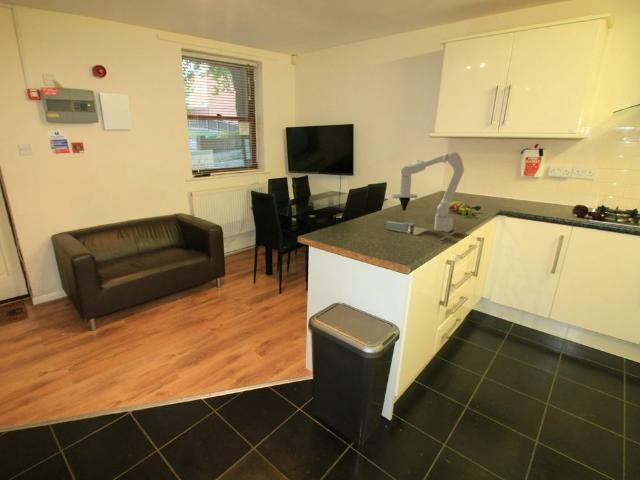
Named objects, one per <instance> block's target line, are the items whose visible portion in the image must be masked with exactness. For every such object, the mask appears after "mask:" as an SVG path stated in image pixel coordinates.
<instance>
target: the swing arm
mask: <svg viewBox="0 0 640 480" xmlns="http://www.w3.org/2000/svg"><path fill="white" fill-rule="evenodd" d="M408 226H414V227H417V223H415V222H397V221H392V220H391V221H389V220H387V221H386V226H385V228H386V229H387V230H389V229H394V230H400V231H408ZM394 230H393V231H394Z"/></svg>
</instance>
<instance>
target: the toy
mask: <svg viewBox="0 0 640 480" xmlns="http://www.w3.org/2000/svg"><path fill="white" fill-rule="evenodd" d="M481 207H482V206H480V205H475V206H470V205H468V204H467V203H466V202H462V201H457V200H456V201H451V203H450V206H449V211H452V212H456V213H458V214H460V215H461V216H460V217H462V218H463V217H464V218H465V217H468V218H471V217H472V218H473V210H475V211H477V212H479V211H480V210H481V209H482V208H481ZM467 213H468V214H467Z"/></svg>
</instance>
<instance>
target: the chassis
mask: <svg viewBox="0 0 640 480" xmlns="http://www.w3.org/2000/svg"><path fill="white" fill-rule="evenodd" d="M408 229H410V232H409V231H400V230H394V229H388V230H391V231H396V232H400V233H405V234H409V235H414V236H415V235H416V236H417V235H420V234H421V233H424V232H426V231H428V230H429V229H428V228H422V227H418V226H409V225H408Z"/></svg>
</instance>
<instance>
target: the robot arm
mask: <svg viewBox="0 0 640 480" xmlns="http://www.w3.org/2000/svg"><path fill="white" fill-rule="evenodd" d="M447 162H448V164H449V165H450V166H451V167H452V169H453V174H452V175H451V179H449V183H448V186H447V188H446V190H445V193H444V195H443V197H442V200H441V201H440V203H439V204H438V205H436V213H435V217H434V226H433V229H434V230H435V231H439V232H445V233H446V232H447V233H449V232H451V231H453V225H454V224H453V223H454V218H453V217H452V216H450V215H449V212H450V209H449V206H450V203H451V202H452V200H453V198H454V195H455V192H456V190H457V188H458V186H459V183H460V181H461V178H462V176H463V174H464V172H465V167H464V164H463V159H462V157H461V156H460V154H459V153H458V151H451V152H447V153H442V154H440V155H437V156H435V157H433V158H430V159H428V160H427V159H426V160H425V161H424V160H420V159H418V160H416V162H414V163H409V164H408V165H405V166H403V167H402V168H401V171H400V173H401V177H400V178H401V179H400V189H399V194H397V193H396V194H392V195H391V198H392V199H399V202H400V205H401V210H402V212H403V211H406V210H407V206H408V205H409V203H410V202H411V199H418V194H417V193H416V194H414V193H411V190H412V189H411V187H412V174H414V175H415V174H417V173H420V172H423V171H425V170H426V168H427V167H430V166H433V165H435V164H439V163H445V164H446V163H447Z"/></svg>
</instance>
